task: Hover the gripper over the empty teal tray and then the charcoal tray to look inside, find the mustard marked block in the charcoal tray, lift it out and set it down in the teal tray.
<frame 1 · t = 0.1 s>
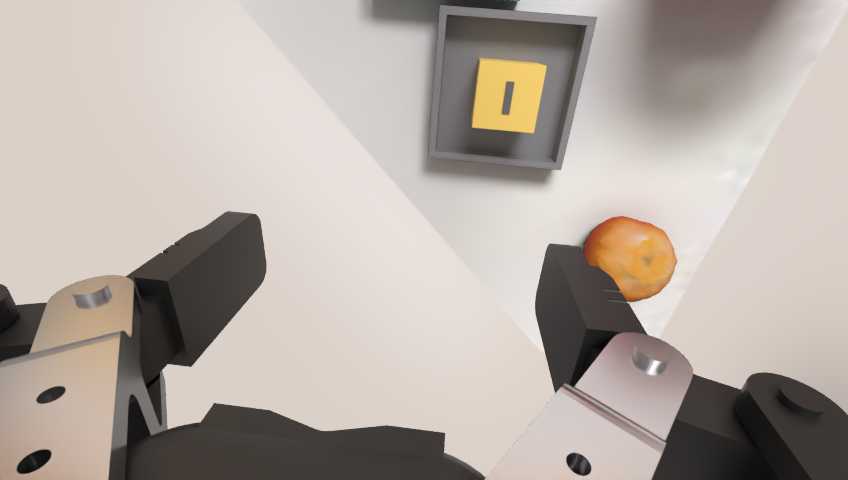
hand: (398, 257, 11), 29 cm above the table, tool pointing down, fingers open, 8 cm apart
marked block: (502, 90, 36), resting on tray 2
tray 2: (502, 90, 36), on the table
fruit: (614, 243, 42), on the table
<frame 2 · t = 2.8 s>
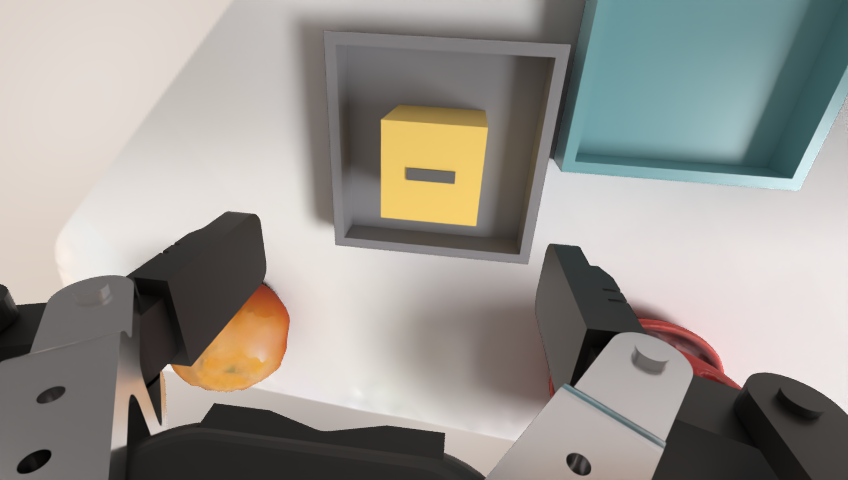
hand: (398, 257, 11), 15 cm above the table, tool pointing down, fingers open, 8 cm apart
marked block: (439, 150, 24), resting on tray 2
tray 1: (696, 54, 21), on the table
tray 2: (439, 149, 24), on the table
plant pot: (618, 369, 31), on the table
fruit: (255, 306, 32), on the table
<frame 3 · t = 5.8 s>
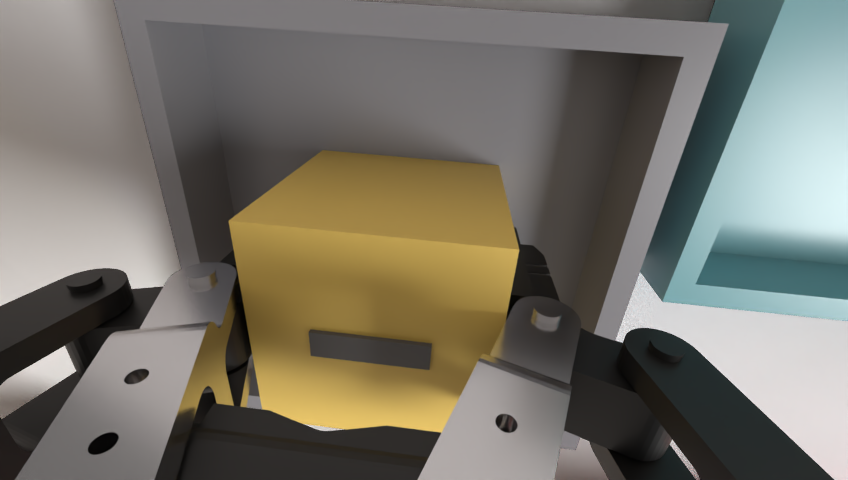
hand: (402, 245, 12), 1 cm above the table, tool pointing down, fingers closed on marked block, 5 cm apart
marked block: (406, 236, 12), resting on tray 2, touching gripper
tray 2: (407, 231, 13), on the table
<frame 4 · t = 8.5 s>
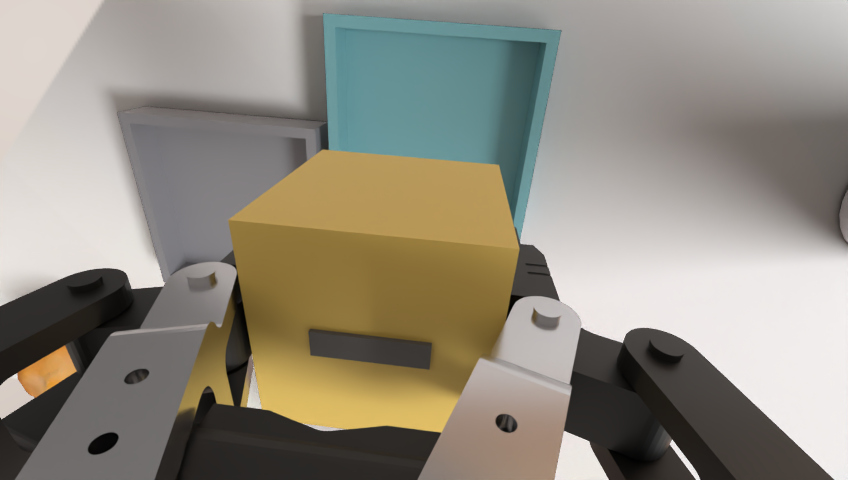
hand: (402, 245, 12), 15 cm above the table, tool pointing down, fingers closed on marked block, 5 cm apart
marked block: (406, 236, 12), point 15 cm above the table, touching gripper
tray 1: (434, 132, 25), on the table
tray 2: (248, 201, 29), on the table
fruit: (120, 330, 36), on the table
when the fingers open (2 cm above the table, at t = 11.4 s): marked block drops 1 cm, resting on tray 1.
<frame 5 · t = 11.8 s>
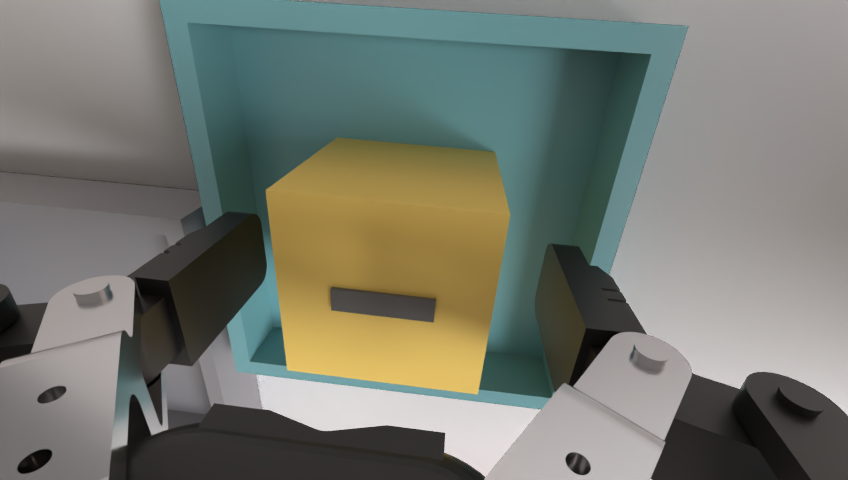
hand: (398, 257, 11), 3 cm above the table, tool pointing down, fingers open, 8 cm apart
marked block: (411, 217, 14), resting on tray 1
tray 1: (412, 213, 14), on the table
tray 2: (113, 310, 17), on the table
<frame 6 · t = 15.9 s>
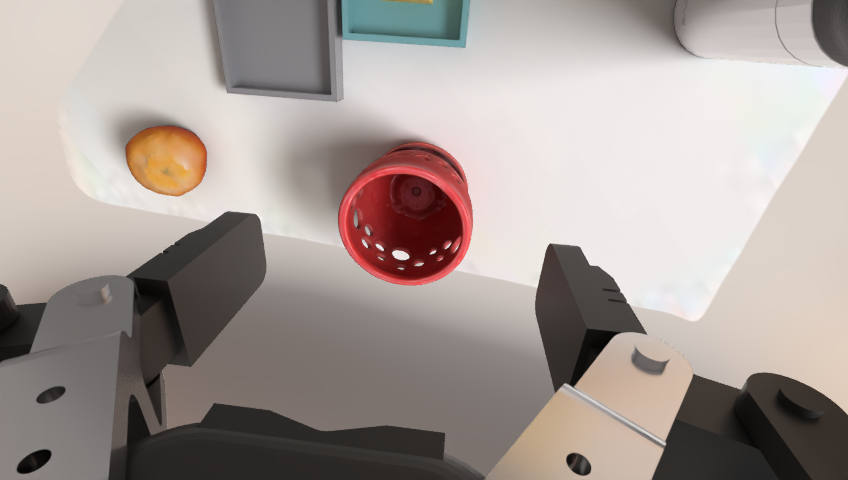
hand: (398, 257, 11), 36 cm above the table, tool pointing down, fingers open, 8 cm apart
tray 2: (285, 33, 42), on the table
plant pot: (417, 189, 49), on the table
fruit: (188, 152, 49), on the table
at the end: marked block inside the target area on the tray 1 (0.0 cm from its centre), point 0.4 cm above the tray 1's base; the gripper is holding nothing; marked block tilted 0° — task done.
